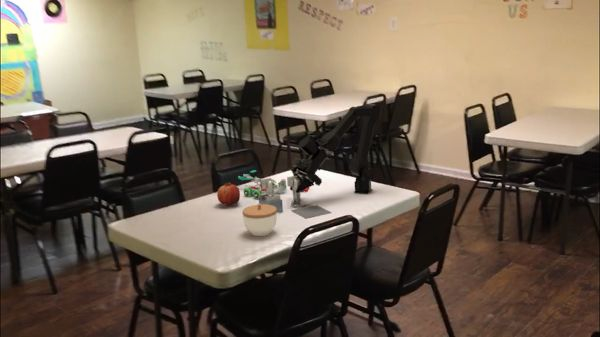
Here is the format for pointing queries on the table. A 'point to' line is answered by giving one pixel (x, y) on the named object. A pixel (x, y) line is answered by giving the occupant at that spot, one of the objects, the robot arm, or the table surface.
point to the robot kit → (257, 189)
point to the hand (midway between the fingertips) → (293, 191)
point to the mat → (311, 211)
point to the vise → (270, 195)
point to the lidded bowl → (260, 219)
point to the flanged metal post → (295, 182)
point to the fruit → (228, 194)
